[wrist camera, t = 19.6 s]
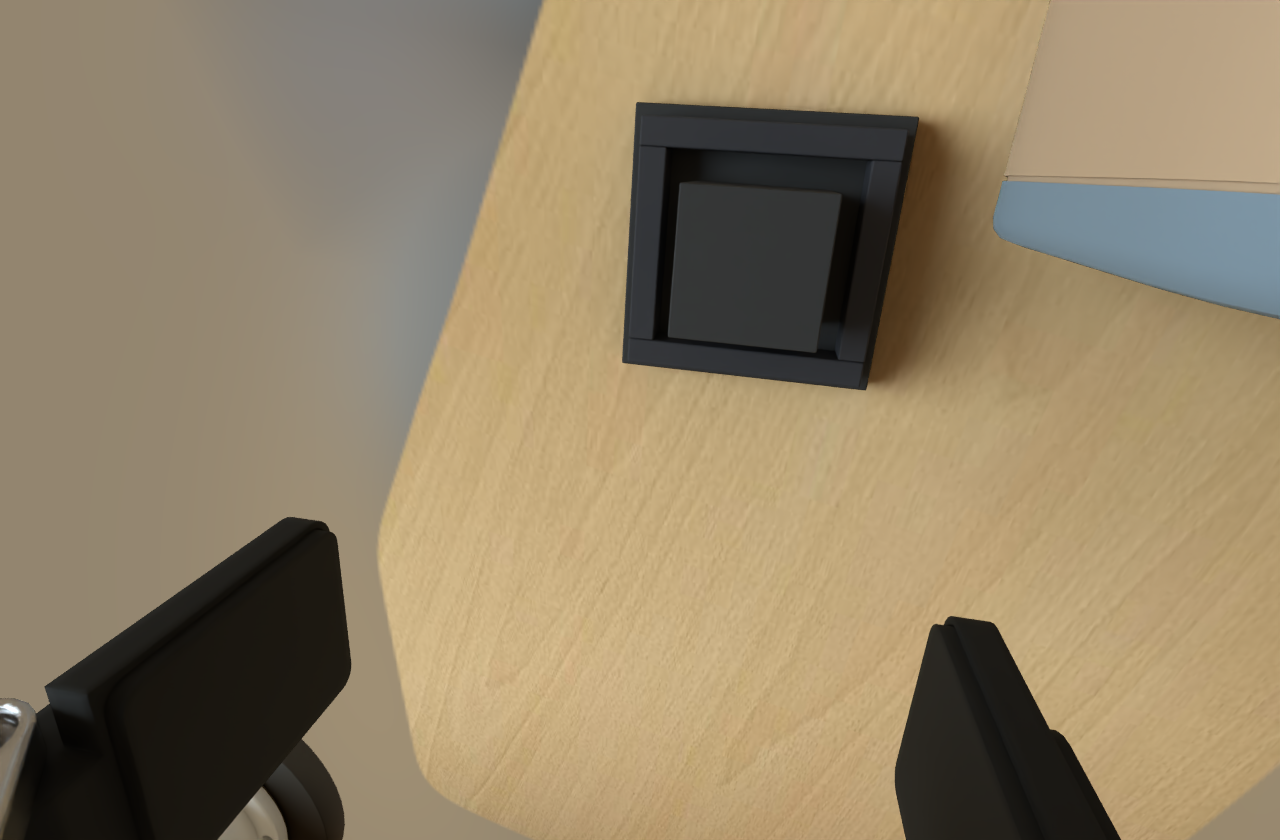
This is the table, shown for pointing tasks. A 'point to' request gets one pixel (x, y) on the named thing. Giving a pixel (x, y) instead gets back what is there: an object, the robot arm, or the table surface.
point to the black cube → (752, 264)
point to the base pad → (773, 156)
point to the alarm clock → (1154, 147)
